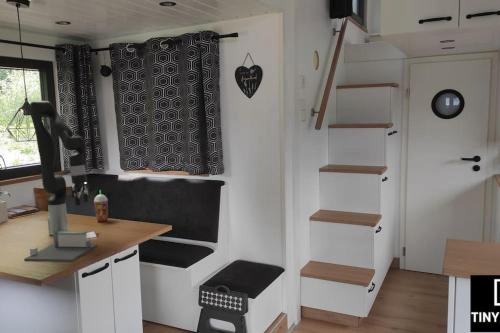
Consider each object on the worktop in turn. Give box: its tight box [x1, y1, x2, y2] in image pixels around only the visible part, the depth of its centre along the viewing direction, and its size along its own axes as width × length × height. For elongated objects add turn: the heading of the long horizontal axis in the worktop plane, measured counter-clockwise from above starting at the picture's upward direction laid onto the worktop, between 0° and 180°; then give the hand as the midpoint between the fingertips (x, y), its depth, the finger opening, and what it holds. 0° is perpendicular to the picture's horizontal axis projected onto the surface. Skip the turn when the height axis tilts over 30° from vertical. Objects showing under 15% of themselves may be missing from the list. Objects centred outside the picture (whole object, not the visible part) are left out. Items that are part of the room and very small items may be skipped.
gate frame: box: [23, 230, 98, 263], centre depth 210 cm, size 25×23×10 cm
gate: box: [57, 231, 88, 247], centre depth 216 cm, size 15×2×7 cm, turn 82°
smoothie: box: [93, 189, 109, 223], centre depth 273 cm, size 8×8×20 cm
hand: (82, 203), depth 233 cm, fingers open, 8 cm apart
